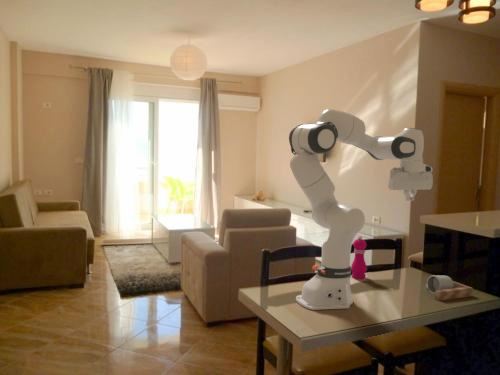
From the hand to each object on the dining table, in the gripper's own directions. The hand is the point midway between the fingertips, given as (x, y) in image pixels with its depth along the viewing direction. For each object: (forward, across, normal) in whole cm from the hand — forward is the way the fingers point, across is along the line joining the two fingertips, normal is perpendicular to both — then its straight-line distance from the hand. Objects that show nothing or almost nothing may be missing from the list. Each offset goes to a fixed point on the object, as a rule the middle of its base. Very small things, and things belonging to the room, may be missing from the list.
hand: (409, 200), depth 172 cm
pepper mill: (+39, -7, +24) cm, 47 cm away
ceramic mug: (+39, +13, -4) cm, 42 cm away
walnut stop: (+39, +14, -7) cm, 42 cm away
